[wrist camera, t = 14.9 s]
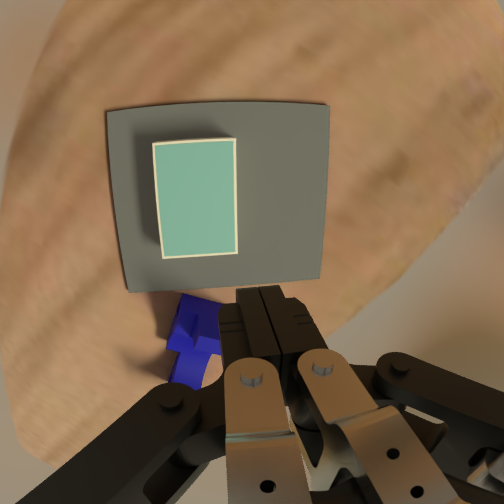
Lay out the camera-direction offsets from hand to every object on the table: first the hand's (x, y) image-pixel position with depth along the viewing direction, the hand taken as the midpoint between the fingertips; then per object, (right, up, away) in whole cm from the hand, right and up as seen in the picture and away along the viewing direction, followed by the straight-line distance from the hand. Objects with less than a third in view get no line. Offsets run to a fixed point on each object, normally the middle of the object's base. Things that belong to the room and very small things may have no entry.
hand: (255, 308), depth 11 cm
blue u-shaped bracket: (-7, -8, +20) cm, 23 cm away
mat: (-3, +6, +15) cm, 16 cm away
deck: (-1, +6, +13) cm, 15 cm away
